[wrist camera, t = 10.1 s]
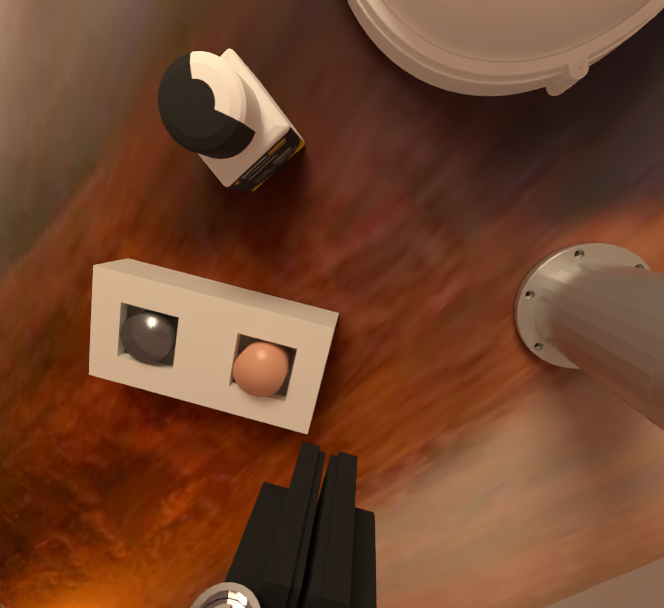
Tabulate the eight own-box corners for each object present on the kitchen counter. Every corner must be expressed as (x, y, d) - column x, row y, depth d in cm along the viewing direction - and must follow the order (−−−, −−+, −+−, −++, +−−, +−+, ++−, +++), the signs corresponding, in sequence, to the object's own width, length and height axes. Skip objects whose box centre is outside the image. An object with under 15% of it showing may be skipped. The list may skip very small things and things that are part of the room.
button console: (338, 313, 37) (334, 328, 32) (314, 407, 40) (307, 434, 36) (128, 258, 38) (93, 265, 33) (121, 355, 41) (88, 374, 36)
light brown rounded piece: (297, 341, 36) (288, 357, 32) (287, 383, 37) (278, 402, 34) (251, 329, 36) (237, 343, 32) (243, 371, 38) (229, 389, 34)
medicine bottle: (253, 193, 35) (195, 184, 23) (205, 133, 34) (121, 93, 22) (307, 144, 33) (273, 108, 22) (258, 80, 32) (197, 6, 21)
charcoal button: (191, 311, 37) (170, 322, 33) (185, 352, 39) (165, 367, 35) (147, 299, 37) (121, 309, 34) (143, 341, 39) (118, 355, 35)
